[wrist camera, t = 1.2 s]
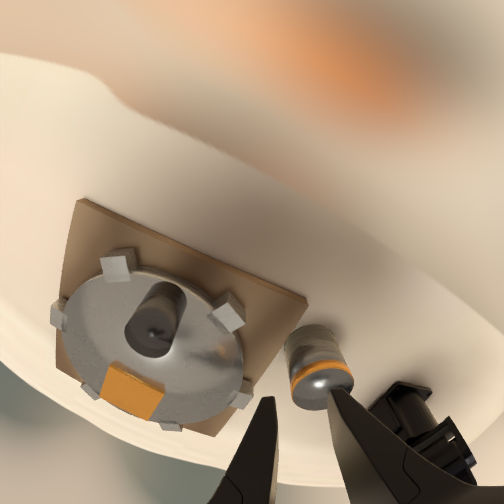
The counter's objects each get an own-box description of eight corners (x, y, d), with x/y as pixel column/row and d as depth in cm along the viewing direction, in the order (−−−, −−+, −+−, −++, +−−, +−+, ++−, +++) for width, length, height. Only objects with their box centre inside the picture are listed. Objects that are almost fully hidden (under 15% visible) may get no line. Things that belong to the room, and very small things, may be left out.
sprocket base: (305, 298, 19) (308, 306, 18) (215, 429, 24) (214, 438, 23) (83, 198, 17) (75, 200, 16) (60, 361, 22) (55, 368, 21)
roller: (345, 333, 20) (366, 376, 16) (317, 370, 22) (330, 415, 17) (300, 316, 20) (314, 361, 15) (274, 356, 21) (279, 403, 16)
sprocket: (296, 318, 18) (312, 374, 13) (214, 434, 22) (210, 481, 17) (74, 218, 16) (22, 242, 11) (57, 365, 20) (30, 402, 15)
